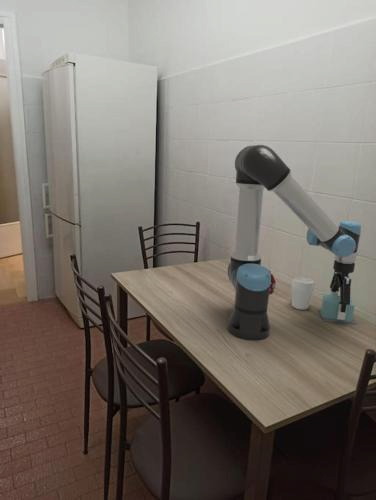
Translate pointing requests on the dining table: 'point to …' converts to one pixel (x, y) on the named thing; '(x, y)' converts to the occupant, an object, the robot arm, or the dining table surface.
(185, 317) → the dining table surface
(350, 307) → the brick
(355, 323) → the base mat
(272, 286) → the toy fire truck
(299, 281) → the cup
